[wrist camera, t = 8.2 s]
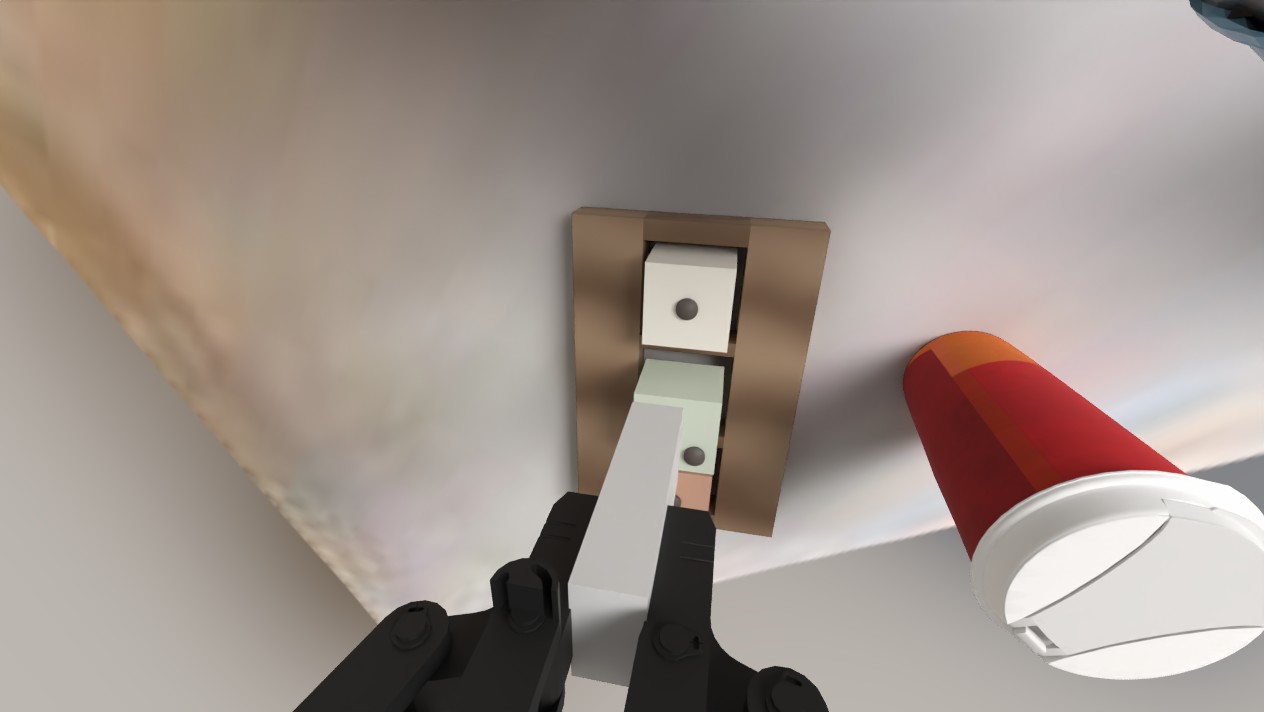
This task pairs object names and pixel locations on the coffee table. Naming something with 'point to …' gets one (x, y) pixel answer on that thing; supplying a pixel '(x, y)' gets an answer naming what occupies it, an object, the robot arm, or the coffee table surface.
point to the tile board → (760, 347)
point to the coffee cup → (1082, 520)
